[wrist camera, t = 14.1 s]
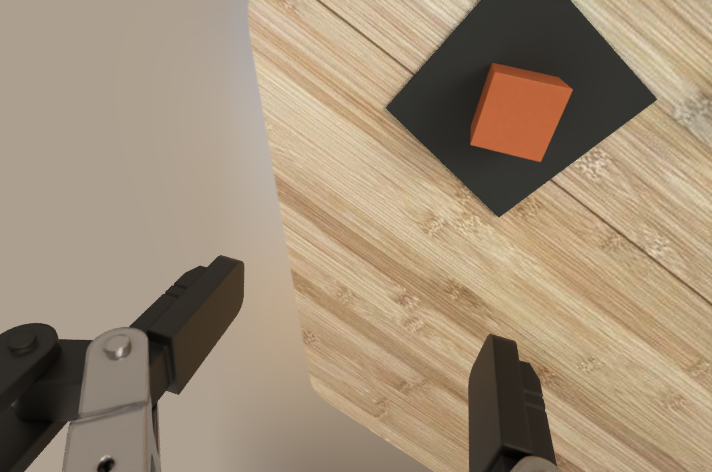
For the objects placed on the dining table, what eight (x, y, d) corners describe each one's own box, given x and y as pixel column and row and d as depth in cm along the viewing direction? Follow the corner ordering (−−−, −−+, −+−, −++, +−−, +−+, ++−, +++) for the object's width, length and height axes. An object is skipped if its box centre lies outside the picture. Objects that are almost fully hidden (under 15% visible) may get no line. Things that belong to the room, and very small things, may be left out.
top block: (470, 127, 33) (470, 145, 29) (491, 62, 30) (494, 71, 26) (531, 141, 32) (540, 162, 28) (559, 77, 29) (573, 89, 25)
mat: (386, 107, 34) (385, 108, 34) (525, -50, 27) (526, -51, 26) (498, 215, 36) (498, 217, 36) (655, 98, 29) (657, 99, 29)
